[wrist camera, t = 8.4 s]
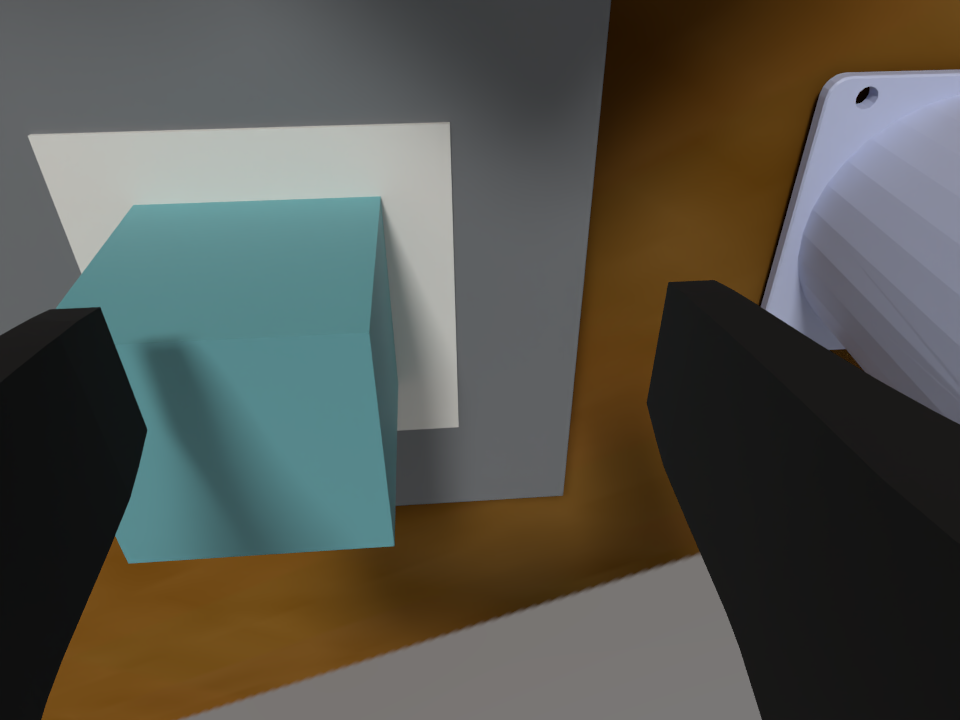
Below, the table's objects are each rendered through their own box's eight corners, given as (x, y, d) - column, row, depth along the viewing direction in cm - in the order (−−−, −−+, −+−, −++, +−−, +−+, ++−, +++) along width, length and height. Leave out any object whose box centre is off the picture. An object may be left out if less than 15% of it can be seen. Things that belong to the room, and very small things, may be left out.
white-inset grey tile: (583, -74, 15) (617, -56, 12) (546, 426, 23) (563, 497, 21) (-122, -65, 14) (-238, -43, 11) (107, 451, 22) (68, 528, 20)
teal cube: (380, 196, 15) (369, 332, 11) (398, 384, 18) (394, 545, 14) (132, 204, 14) (25, 348, 10) (194, 395, 17) (128, 563, 13)
